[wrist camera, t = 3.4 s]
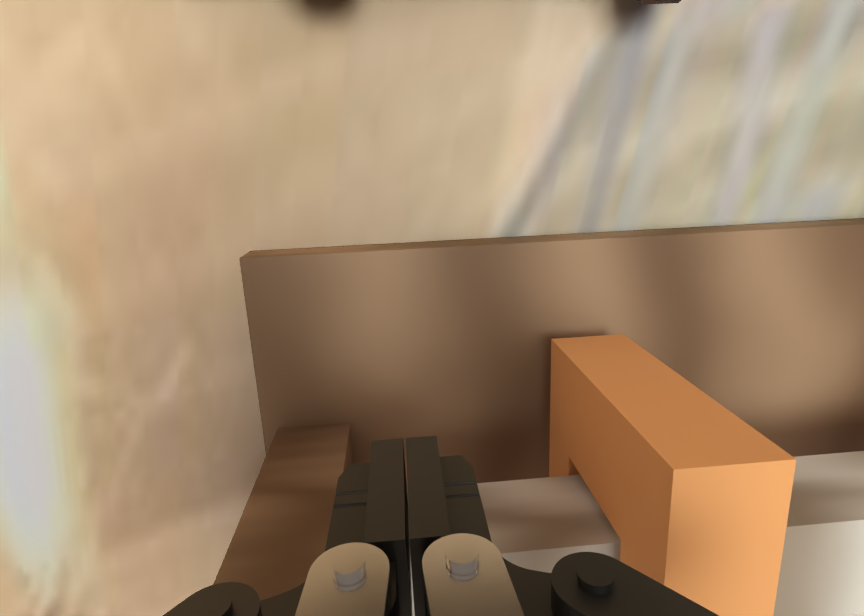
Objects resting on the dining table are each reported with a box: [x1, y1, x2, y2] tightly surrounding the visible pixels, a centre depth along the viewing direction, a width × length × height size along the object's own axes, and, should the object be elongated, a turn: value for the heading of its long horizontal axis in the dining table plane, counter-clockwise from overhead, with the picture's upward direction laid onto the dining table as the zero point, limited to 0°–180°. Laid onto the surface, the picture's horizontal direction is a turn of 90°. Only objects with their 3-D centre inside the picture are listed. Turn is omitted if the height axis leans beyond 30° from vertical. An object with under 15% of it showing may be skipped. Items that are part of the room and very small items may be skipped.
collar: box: [549, 334, 796, 616], centre depth 15 cm, size 2×10×8 cm, turn 2°
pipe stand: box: [213, 218, 864, 616], centre depth 17 cm, size 28×16×10 cm, turn 92°
